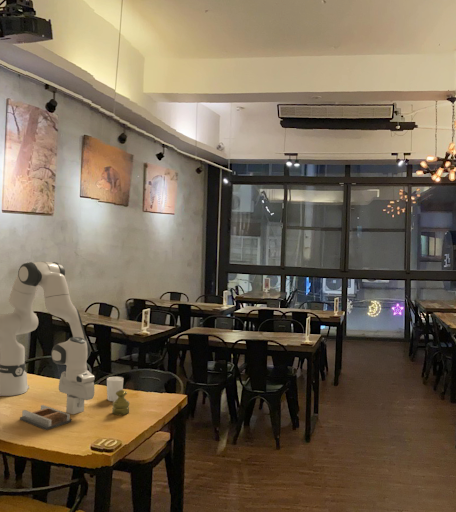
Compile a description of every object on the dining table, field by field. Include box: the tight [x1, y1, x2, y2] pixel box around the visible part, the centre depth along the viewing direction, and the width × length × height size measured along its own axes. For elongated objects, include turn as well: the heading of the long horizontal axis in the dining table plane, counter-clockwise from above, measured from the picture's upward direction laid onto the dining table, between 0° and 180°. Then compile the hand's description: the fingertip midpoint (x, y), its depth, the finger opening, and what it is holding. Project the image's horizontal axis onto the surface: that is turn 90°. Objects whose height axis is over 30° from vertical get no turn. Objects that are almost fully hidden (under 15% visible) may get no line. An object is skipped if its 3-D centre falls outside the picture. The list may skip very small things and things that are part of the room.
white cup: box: [106, 376, 124, 402], centre depth 233 cm, size 8×8×10 cm
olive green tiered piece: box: [111, 389, 130, 416], centre depth 215 cm, size 7×8×10 cm
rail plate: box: [19, 404, 72, 431], centre depth 202 cm, size 18×12×4 cm, turn 56°
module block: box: [65, 395, 85, 415], centre depth 214 cm, size 4×6×7 cm
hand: (75, 405), depth 214 cm, fingers closed on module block, 4 cm apart
